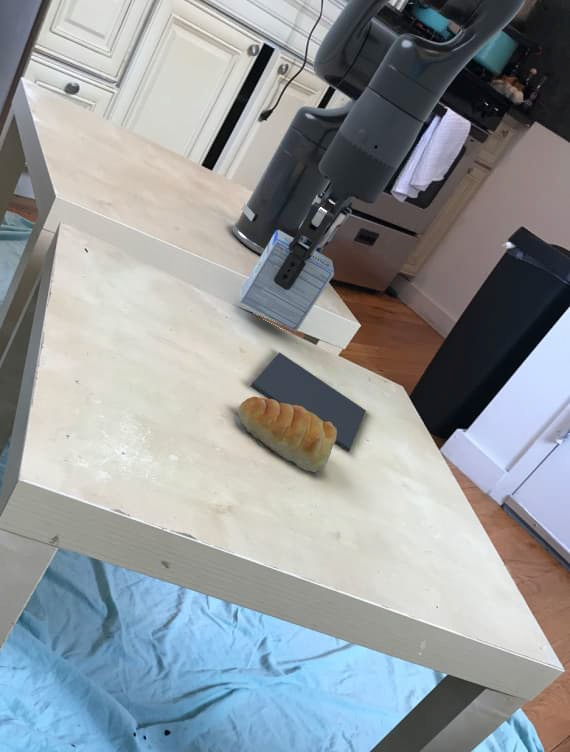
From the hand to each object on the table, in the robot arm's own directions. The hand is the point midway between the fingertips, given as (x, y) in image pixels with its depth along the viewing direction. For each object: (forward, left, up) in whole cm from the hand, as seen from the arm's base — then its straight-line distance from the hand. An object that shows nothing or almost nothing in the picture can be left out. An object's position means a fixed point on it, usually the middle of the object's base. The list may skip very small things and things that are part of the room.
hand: (287, 280), depth 89 cm
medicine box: (0, 0, -5) cm, 5 cm away
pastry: (+25, +10, -6) cm, 28 cm away
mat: (+12, +10, -6) cm, 17 cm away
